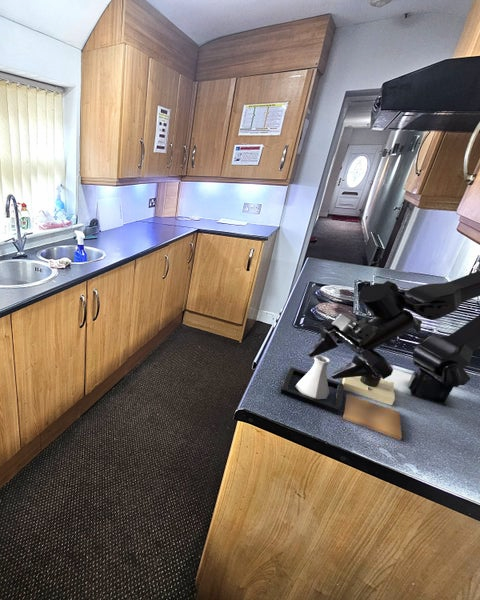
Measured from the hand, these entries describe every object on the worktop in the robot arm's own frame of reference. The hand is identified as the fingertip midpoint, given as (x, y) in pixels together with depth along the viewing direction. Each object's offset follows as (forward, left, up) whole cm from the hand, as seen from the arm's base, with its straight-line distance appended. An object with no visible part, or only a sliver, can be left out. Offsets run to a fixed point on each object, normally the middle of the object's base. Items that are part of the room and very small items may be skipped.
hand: (320, 366), depth 82 cm
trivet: (-12, +2, -8) cm, 14 cm away
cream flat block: (-11, -10, -8) cm, 17 cm away
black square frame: (0, 0, -8) cm, 8 cm away
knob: (-11, -10, -6) cm, 16 cm away
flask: (0, 0, -8) cm, 8 cm away
